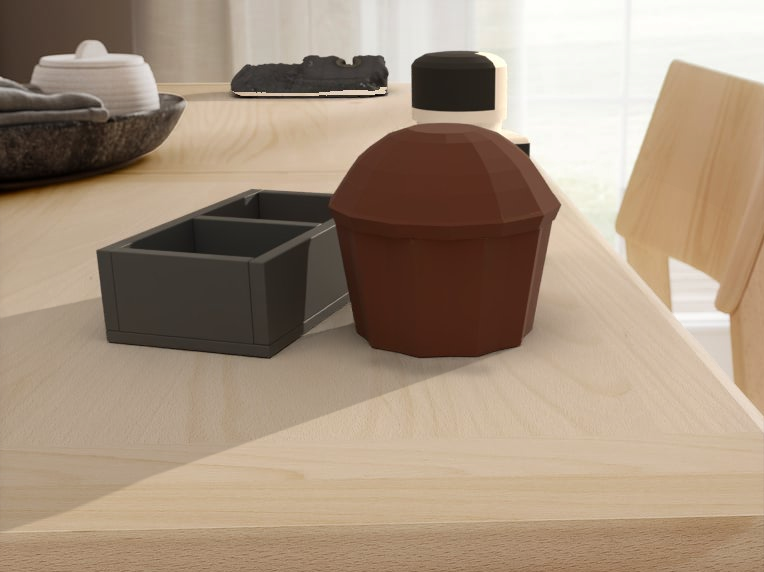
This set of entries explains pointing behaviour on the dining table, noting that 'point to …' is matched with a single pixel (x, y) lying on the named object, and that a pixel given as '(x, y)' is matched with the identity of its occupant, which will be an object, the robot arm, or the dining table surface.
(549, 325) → the dining table surface
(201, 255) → the divided box
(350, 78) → the dark slate chunk
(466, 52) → the medicine bottle
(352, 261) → the muffin
